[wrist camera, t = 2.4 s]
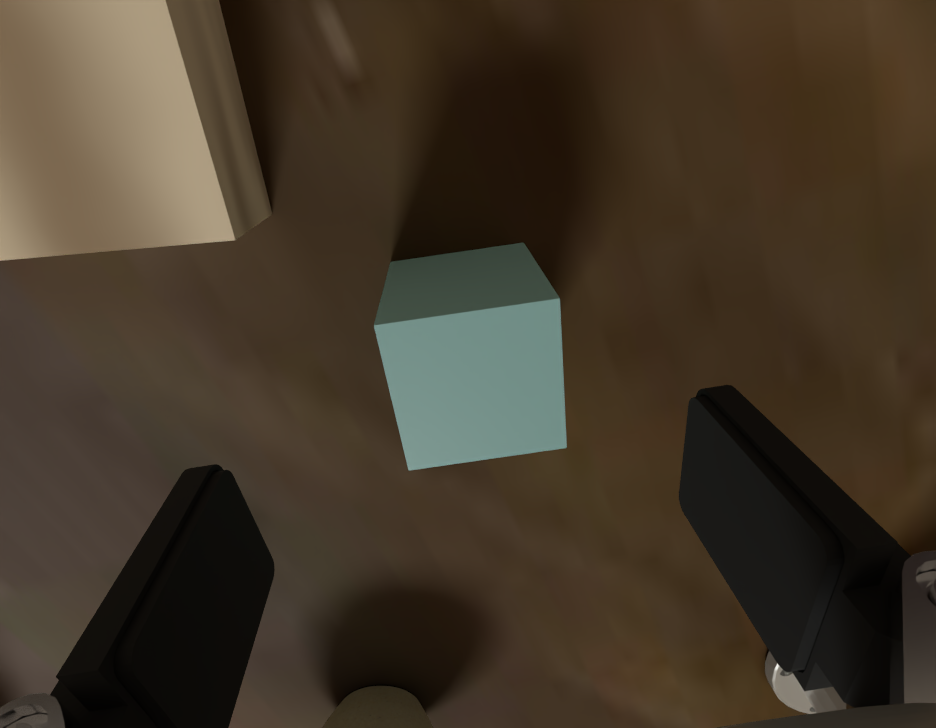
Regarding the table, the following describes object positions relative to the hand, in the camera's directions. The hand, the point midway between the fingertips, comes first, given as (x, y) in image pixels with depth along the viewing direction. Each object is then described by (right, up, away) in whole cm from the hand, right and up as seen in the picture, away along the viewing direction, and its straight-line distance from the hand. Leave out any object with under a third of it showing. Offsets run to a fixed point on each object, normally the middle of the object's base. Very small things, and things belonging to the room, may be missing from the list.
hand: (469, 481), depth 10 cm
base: (-11, +11, +6) cm, 17 cm away
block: (0, +4, +9) cm, 10 cm away
